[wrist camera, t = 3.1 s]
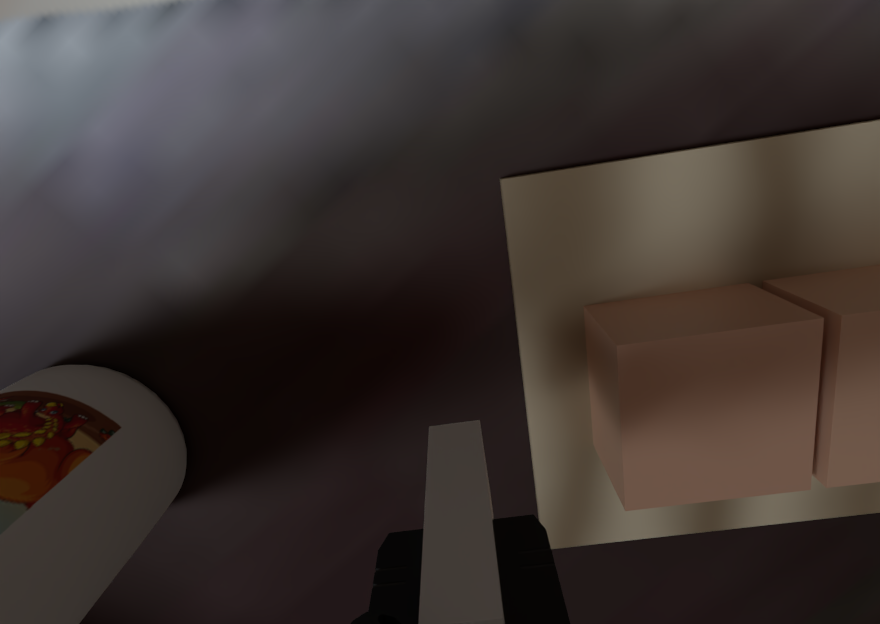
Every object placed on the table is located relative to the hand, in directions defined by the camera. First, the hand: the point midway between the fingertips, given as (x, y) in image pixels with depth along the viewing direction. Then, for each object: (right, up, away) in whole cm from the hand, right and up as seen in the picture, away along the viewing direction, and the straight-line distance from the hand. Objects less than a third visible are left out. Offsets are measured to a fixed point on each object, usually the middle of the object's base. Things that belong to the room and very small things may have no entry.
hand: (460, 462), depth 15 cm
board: (+11, +3, +5) cm, 12 cm away
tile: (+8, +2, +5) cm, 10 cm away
